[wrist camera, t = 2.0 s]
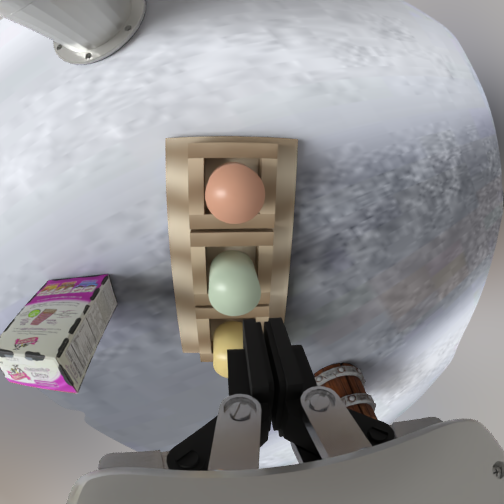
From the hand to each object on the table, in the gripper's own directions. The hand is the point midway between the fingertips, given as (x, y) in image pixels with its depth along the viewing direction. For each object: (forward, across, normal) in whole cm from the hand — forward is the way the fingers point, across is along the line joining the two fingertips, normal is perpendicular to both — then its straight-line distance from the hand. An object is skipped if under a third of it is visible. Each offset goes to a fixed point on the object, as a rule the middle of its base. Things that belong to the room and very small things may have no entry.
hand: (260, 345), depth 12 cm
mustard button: (+18, +1, +13) cm, 22 cm away
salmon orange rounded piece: (+17, +1, -5) cm, 18 cm away
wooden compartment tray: (+21, +1, +4) cm, 22 cm away
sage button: (+18, +1, +4) cm, 18 cm away
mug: (+23, -18, +30) cm, 42 cm away
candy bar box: (+22, +22, +9) cm, 32 cm away
